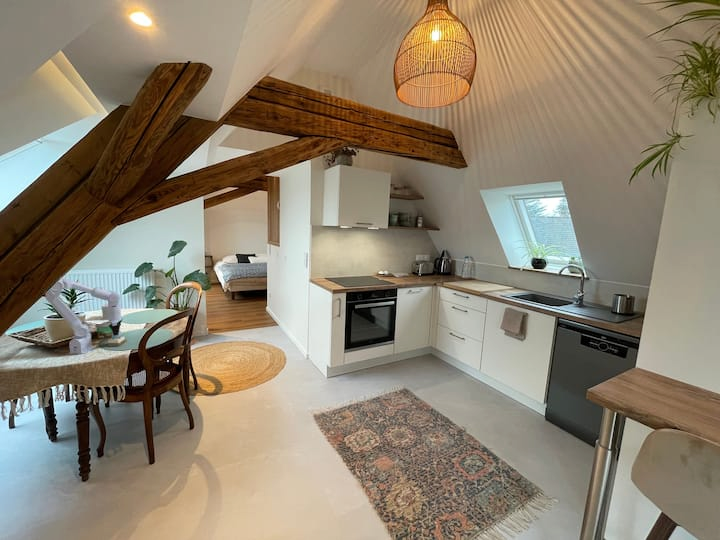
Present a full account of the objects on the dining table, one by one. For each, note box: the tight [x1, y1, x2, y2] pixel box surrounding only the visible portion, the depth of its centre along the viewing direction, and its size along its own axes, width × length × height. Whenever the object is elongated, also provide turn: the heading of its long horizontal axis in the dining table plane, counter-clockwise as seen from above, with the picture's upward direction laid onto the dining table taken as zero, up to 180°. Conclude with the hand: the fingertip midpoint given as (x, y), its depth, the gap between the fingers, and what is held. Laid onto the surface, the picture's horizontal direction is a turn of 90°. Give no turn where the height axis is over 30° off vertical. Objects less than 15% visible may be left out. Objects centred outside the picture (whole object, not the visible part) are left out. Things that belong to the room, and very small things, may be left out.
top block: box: [107, 336, 126, 344], centre depth 181 cm, size 6×6×2 cm
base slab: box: [107, 338, 128, 347], centre depth 182 cm, size 6×6×2 cm
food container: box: [95, 320, 112, 340], centre depth 192 cm, size 12×6×10 cm, turn 168°
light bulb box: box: [101, 303, 109, 321], centre depth 226 cm, size 11×7×11 cm, turn 17°
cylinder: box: [111, 330, 122, 339], centre depth 181 cm, size 4×4×4 cm
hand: (116, 333), depth 181 cm, fingers open, 6 cm apart
